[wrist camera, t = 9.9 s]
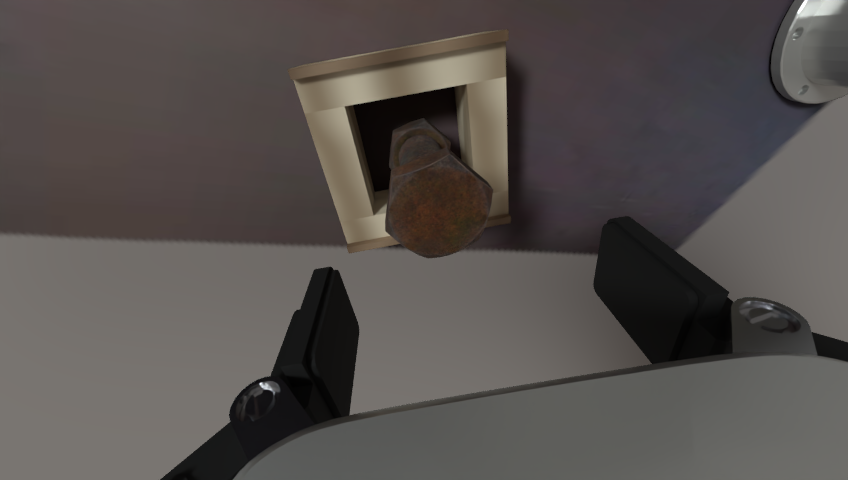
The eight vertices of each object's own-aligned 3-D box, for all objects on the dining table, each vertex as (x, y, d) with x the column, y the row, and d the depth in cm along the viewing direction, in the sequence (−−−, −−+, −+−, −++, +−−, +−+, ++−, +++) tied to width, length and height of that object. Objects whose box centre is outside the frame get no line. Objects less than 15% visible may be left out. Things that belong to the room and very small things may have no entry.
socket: (484, 31, 25) (508, 29, 20) (492, 196, 33) (510, 222, 28) (305, 64, 25) (287, 69, 20) (353, 222, 32) (348, 253, 28)
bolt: (457, 136, 29) (515, 209, 16) (421, 179, 31) (449, 275, 18) (405, 91, 27) (427, 135, 14) (370, 140, 28) (360, 220, 16)
